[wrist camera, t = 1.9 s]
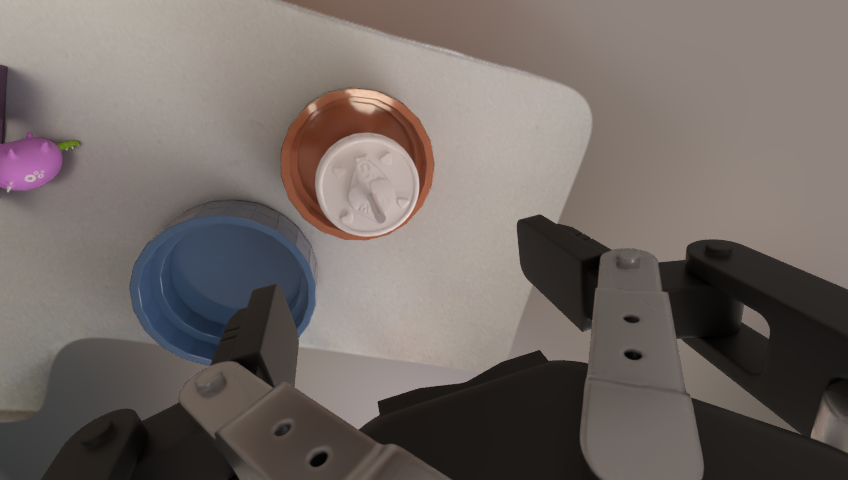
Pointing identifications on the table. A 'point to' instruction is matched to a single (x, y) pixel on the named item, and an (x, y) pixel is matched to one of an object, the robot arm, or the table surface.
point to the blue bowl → (219, 274)
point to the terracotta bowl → (338, 120)
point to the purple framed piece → (27, 154)
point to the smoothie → (367, 184)
